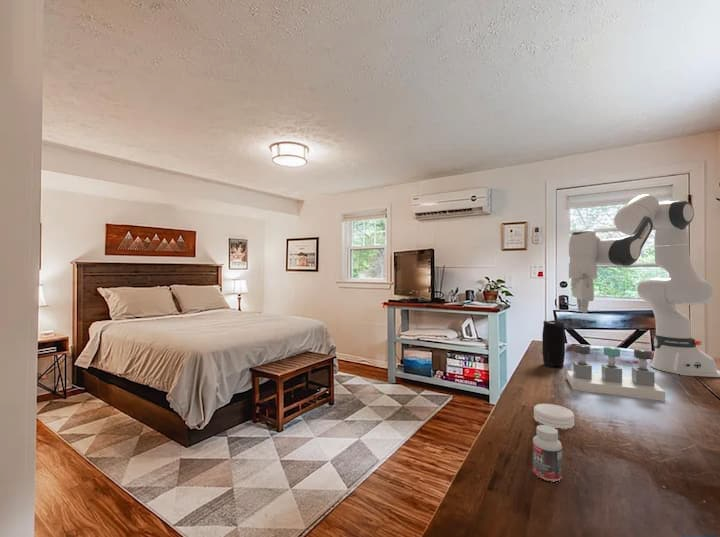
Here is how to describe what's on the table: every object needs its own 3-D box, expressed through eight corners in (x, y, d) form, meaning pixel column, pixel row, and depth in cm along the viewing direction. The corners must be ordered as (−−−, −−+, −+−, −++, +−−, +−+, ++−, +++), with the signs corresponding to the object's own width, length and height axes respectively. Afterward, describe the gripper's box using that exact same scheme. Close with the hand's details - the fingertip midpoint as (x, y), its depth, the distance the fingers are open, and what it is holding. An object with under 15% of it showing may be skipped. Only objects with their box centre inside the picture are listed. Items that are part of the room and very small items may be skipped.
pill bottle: (529, 476, 73) (529, 429, 73) (536, 465, 77) (536, 420, 77) (558, 487, 69) (559, 437, 69) (564, 475, 73) (564, 428, 73)
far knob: (588, 362, 131) (588, 345, 131) (591, 365, 126) (591, 348, 126) (573, 360, 133) (573, 344, 133) (575, 364, 128) (575, 346, 128)
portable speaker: (554, 362, 161) (554, 319, 161) (569, 368, 151) (570, 322, 151) (537, 363, 159) (537, 320, 159) (552, 369, 150) (552, 323, 150)
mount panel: (649, 387, 127) (649, 365, 127) (665, 400, 114) (665, 376, 114) (567, 378, 138) (567, 358, 137) (572, 389, 125) (572, 367, 125)
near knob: (648, 367, 124) (649, 349, 124) (653, 371, 119) (654, 352, 119) (632, 366, 125) (632, 348, 125) (636, 369, 121) (636, 351, 121)
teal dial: (618, 364, 127) (618, 346, 127) (621, 368, 123) (621, 349, 123) (602, 363, 129) (602, 345, 129) (605, 366, 125) (605, 348, 125)
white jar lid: (525, 418, 102) (525, 406, 102) (550, 412, 105) (550, 400, 105) (557, 433, 92) (557, 419, 92) (582, 426, 96) (582, 413, 96)
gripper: (599, 274, 119) (599, 315, 119) (587, 273, 137) (587, 308, 137) (577, 274, 121) (577, 314, 121) (568, 273, 140) (568, 308, 140)
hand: (582, 311), depth 129 cm, fingers open, 5 cm apart
